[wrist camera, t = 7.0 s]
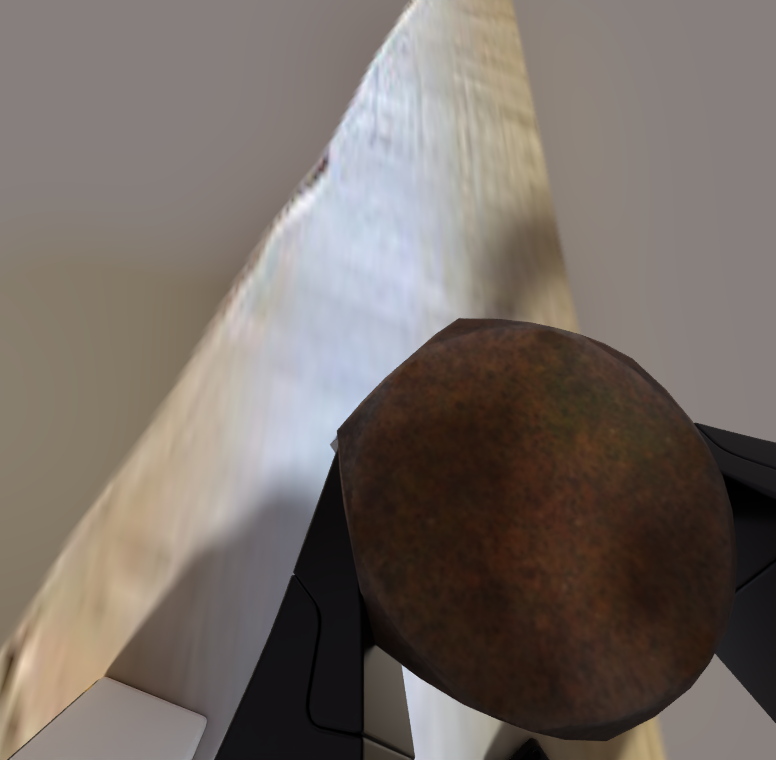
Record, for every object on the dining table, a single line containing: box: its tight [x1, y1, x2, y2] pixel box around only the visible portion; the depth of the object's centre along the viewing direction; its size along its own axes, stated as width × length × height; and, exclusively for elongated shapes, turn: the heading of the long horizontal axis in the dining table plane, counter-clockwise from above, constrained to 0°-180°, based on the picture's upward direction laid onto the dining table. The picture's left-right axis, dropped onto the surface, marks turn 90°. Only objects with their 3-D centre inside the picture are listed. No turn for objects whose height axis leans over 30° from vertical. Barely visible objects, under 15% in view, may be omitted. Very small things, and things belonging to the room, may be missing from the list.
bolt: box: [337, 318, 737, 741], centre depth 11 cm, size 6×5×15 cm
